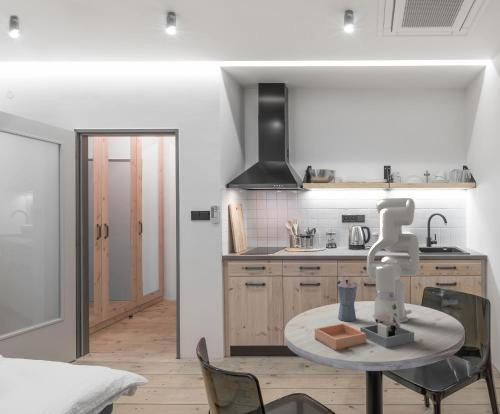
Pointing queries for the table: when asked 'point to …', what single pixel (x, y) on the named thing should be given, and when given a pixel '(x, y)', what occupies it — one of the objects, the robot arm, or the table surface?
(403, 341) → the bin
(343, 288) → the moka pot
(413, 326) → the table surface
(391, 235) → the robot arm
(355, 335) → the bin
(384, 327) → the stone block
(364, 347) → the table surface
